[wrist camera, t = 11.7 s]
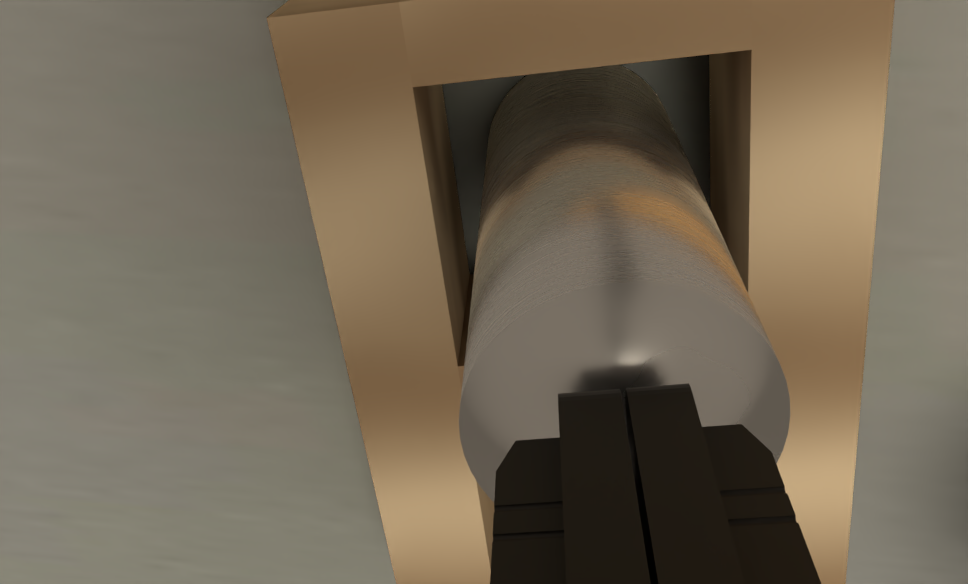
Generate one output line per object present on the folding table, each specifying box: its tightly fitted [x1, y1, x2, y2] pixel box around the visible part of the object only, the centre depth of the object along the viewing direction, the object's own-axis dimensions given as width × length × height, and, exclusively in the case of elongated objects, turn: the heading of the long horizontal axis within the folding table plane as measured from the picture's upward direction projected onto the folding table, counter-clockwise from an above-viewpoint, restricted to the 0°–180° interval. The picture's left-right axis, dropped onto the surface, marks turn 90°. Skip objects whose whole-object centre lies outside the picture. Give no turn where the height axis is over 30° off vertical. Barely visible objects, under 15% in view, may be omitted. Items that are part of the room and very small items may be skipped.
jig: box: [267, 0, 895, 584], centre depth 20 cm, size 15×10×4 cm, turn 7°
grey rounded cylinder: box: [459, 64, 790, 502], centre depth 15 cm, size 4×4×10 cm
